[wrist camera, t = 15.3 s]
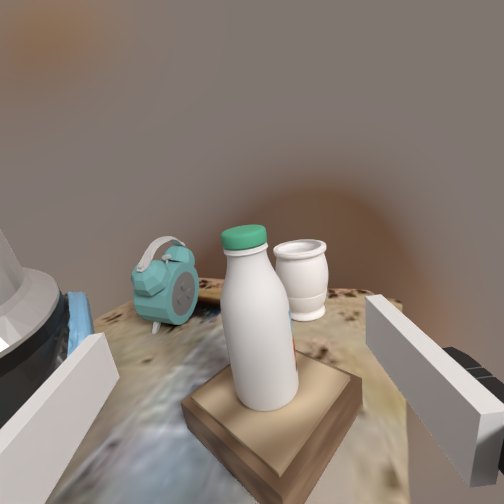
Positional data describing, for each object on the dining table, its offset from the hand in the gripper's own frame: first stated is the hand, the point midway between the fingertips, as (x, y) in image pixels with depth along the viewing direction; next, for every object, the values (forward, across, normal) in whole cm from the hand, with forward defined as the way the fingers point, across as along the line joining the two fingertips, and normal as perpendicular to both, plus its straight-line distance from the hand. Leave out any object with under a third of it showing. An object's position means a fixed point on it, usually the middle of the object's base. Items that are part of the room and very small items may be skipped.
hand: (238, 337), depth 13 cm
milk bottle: (+15, +1, -18) cm, 23 cm away
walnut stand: (+15, +1, -23) cm, 27 cm away
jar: (+39, +11, -23) cm, 47 cm away
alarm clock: (+44, -19, -24) cm, 53 cm away
